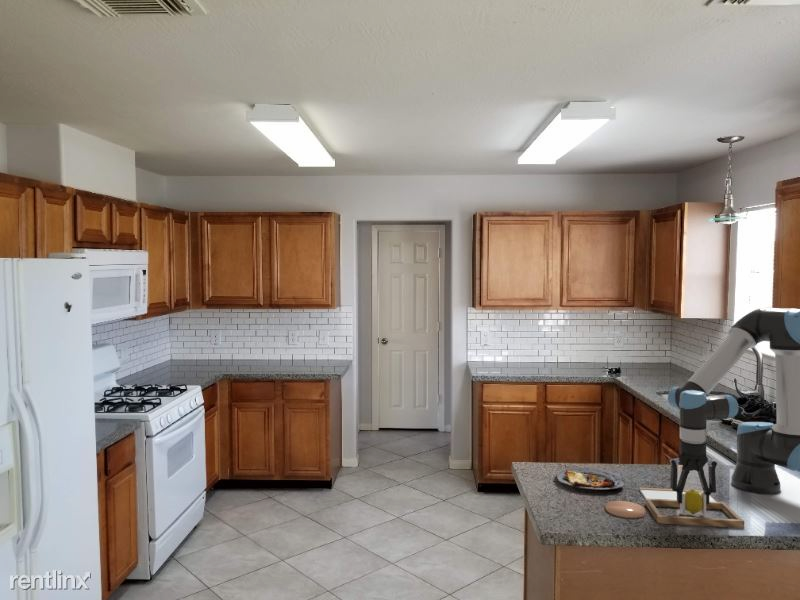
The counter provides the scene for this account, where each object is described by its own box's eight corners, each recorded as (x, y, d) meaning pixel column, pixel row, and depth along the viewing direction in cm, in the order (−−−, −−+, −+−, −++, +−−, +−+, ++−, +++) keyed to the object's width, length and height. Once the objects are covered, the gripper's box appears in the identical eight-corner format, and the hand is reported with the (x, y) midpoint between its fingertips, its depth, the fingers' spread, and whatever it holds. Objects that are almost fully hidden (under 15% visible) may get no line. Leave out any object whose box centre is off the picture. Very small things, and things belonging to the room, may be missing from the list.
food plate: (629, 496, 201) (629, 486, 201) (559, 493, 206) (559, 483, 206) (617, 475, 226) (617, 466, 226) (555, 472, 231) (555, 463, 231)
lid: (705, 493, 204) (705, 490, 204) (719, 507, 191) (720, 504, 191) (639, 490, 208) (639, 487, 208) (648, 504, 195) (648, 501, 195)
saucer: (640, 504, 194) (640, 501, 194) (649, 519, 182) (649, 516, 182) (602, 502, 196) (602, 499, 196) (609, 517, 184) (609, 513, 184)
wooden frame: (723, 507, 191) (723, 501, 191) (744, 527, 176) (744, 521, 175) (644, 503, 195) (644, 497, 195) (658, 523, 179) (658, 516, 179)
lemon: (679, 511, 188) (679, 486, 187) (696, 510, 188) (696, 485, 188) (689, 518, 182) (689, 492, 182) (706, 517, 183) (706, 492, 182)
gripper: (719, 438, 187) (719, 510, 187) (658, 436, 190) (658, 507, 190) (729, 444, 179) (729, 519, 180) (665, 443, 182) (665, 516, 183)
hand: (692, 513), depth 185 cm, fingers closed on lemon, 5 cm apart
